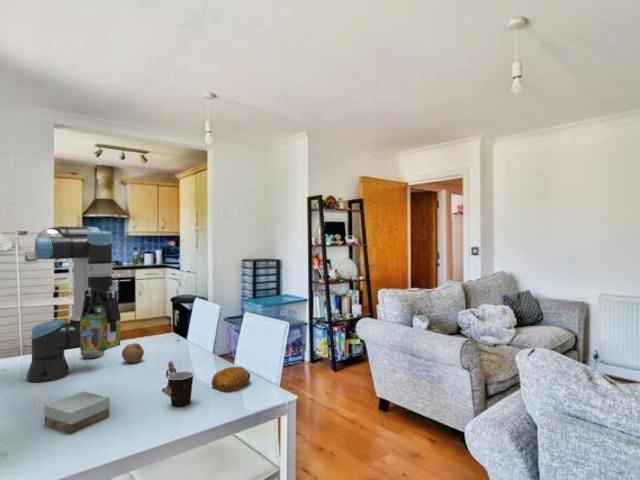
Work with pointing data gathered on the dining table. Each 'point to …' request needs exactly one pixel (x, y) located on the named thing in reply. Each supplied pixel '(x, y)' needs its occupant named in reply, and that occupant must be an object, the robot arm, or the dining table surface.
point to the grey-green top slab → (76, 407)
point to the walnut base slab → (78, 425)
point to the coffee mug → (180, 388)
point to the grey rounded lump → (91, 354)
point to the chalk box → (96, 331)
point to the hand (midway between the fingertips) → (100, 339)
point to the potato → (230, 379)
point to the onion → (132, 353)
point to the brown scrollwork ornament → (167, 390)
